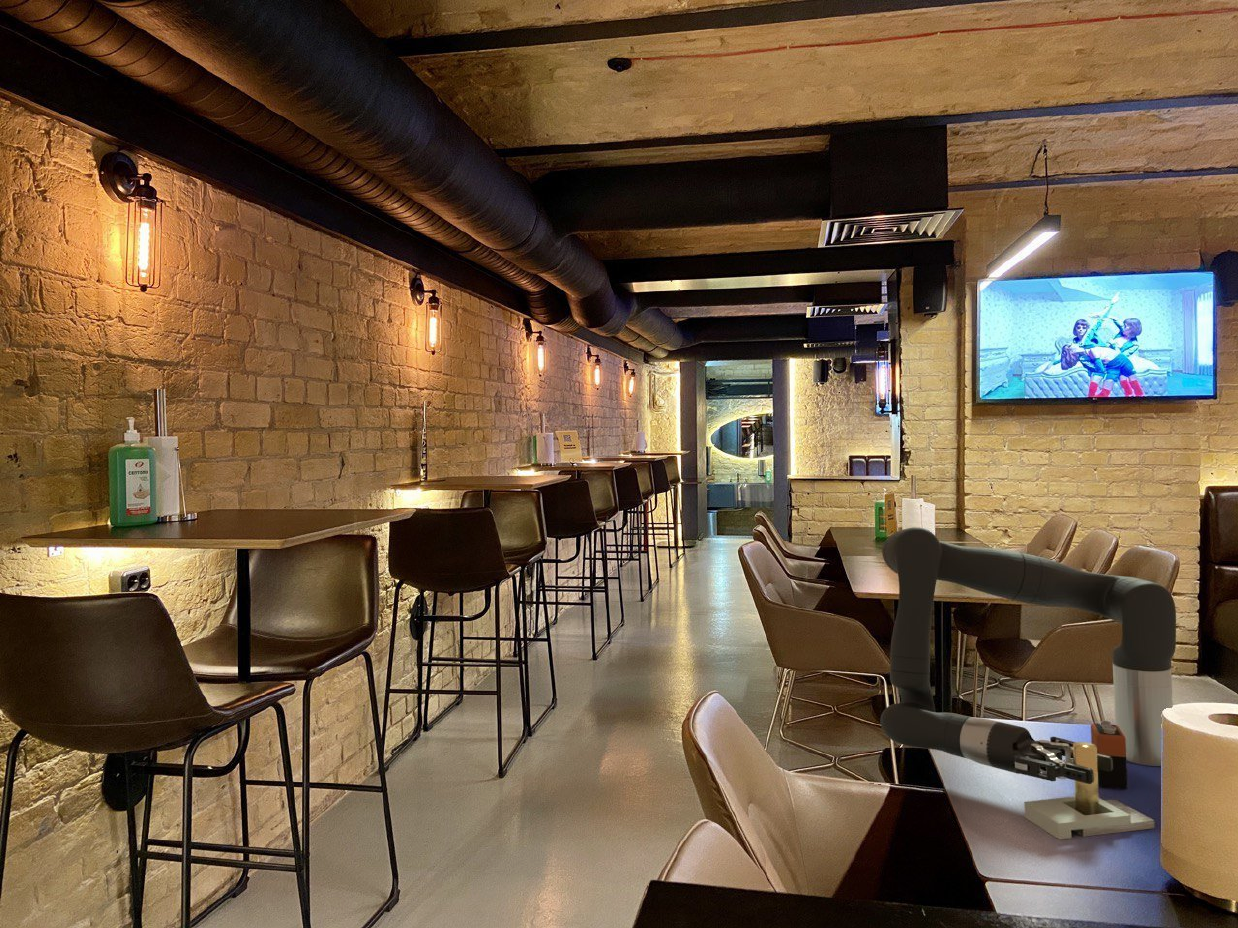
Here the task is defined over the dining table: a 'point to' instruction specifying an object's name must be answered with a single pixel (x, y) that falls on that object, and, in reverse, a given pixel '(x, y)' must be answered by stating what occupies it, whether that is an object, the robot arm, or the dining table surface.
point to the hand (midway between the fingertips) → (1102, 770)
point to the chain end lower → (1136, 823)
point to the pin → (1086, 792)
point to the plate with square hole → (1071, 816)
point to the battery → (1111, 754)
